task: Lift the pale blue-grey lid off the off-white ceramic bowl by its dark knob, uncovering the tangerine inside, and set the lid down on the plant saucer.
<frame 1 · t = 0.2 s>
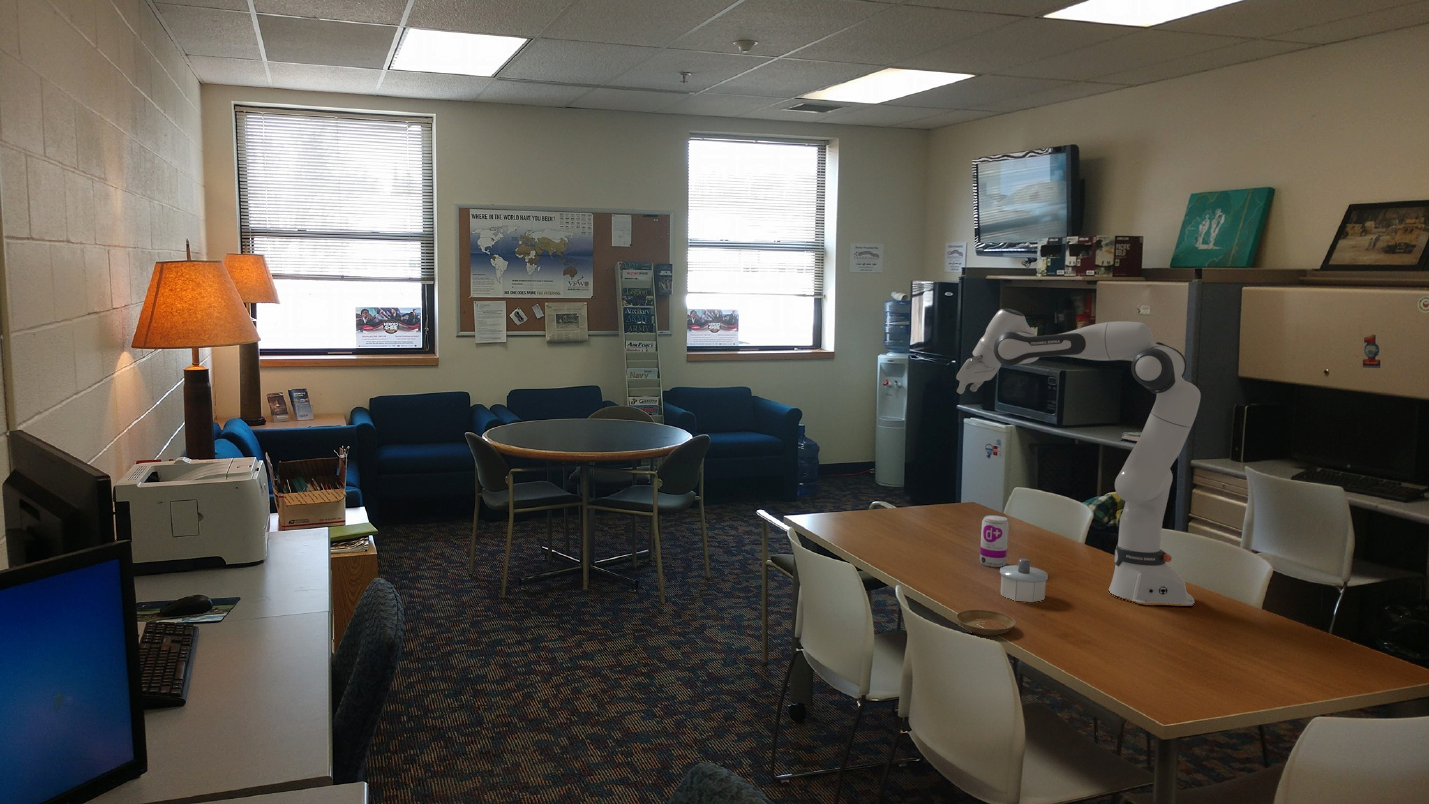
hand: (965, 391, 306), 54 cm above the table, tool tilted 30°, fingers open, 8 cm apart
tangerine: (1022, 586, 273), point 3 cm above the table, touching bowl
bowl: (1022, 595, 274), on the table
plant saucer: (984, 629, 247), on the table
lid: (1023, 575, 273), point 6 cm above the table, touching bowl
supplement can: (992, 564, 305), on the table
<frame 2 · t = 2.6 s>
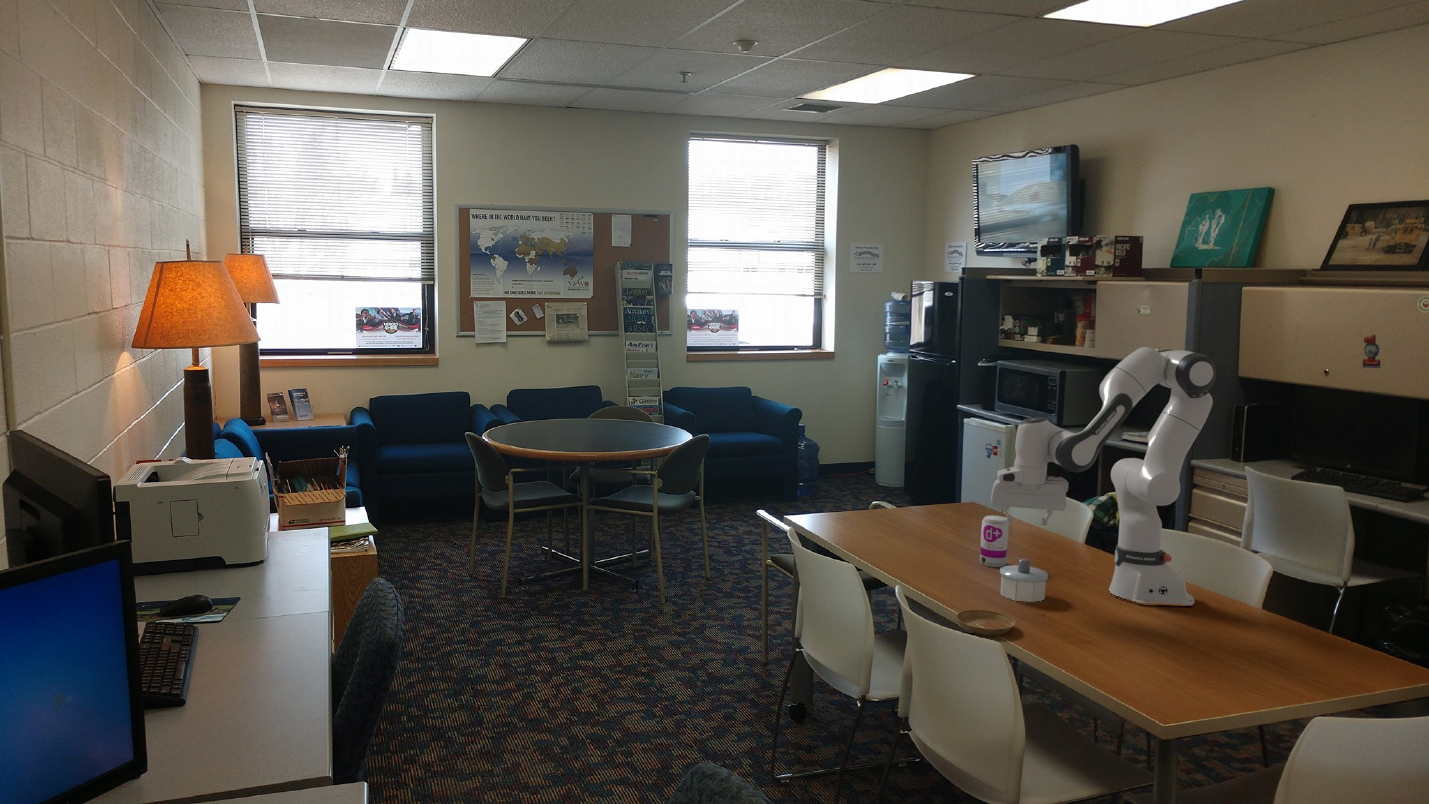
hand: (1026, 523, 271), 21 cm above the table, tool pointing down, fingers open, 8 cm apart
nothing on the table moved.
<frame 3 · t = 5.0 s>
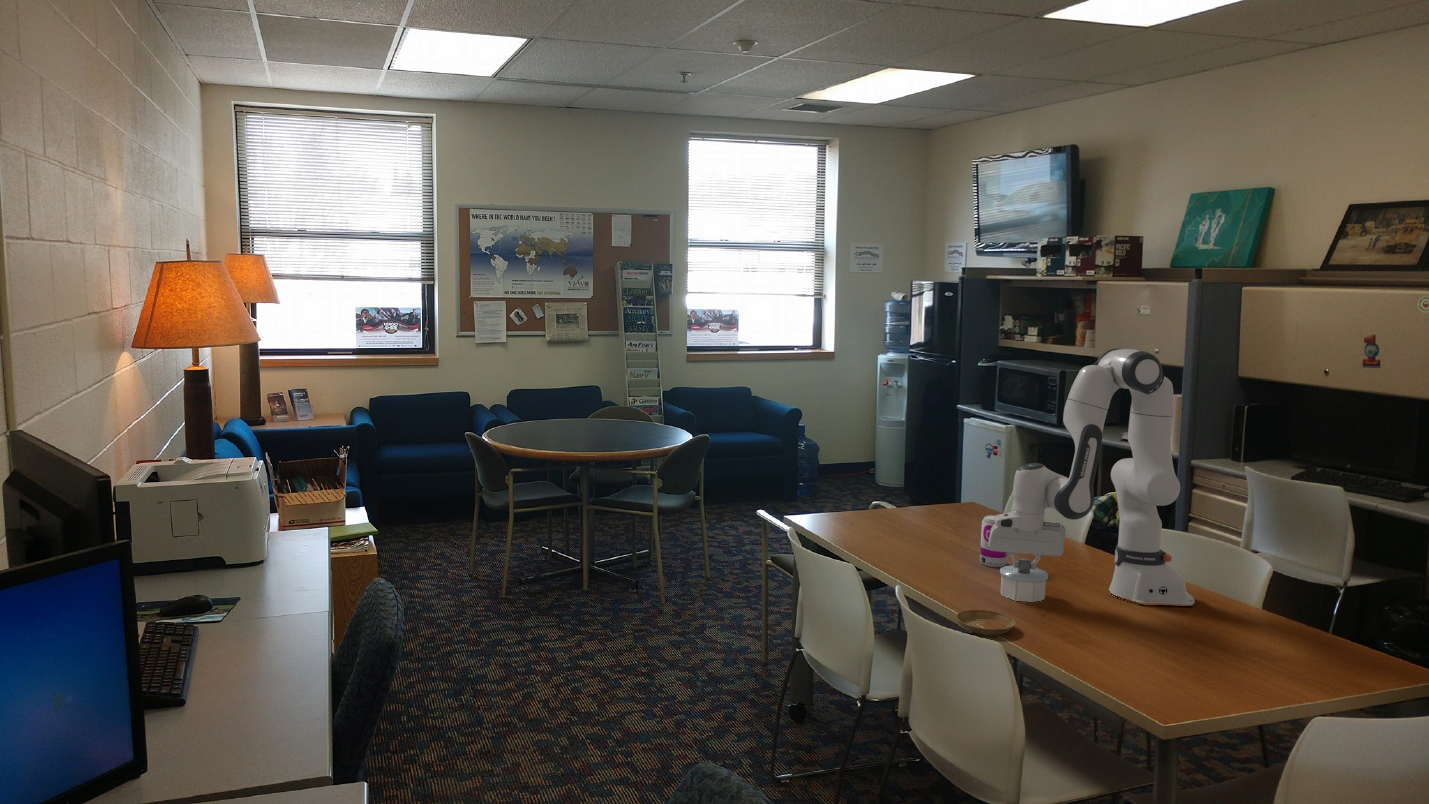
hand: (1024, 568, 273), 8 cm above the table, tool pointing down, fingers closed on lid, 3 cm apart
lid: (1023, 575, 273), point 6 cm above the table, touching bowl, gripper
everything else where it was.
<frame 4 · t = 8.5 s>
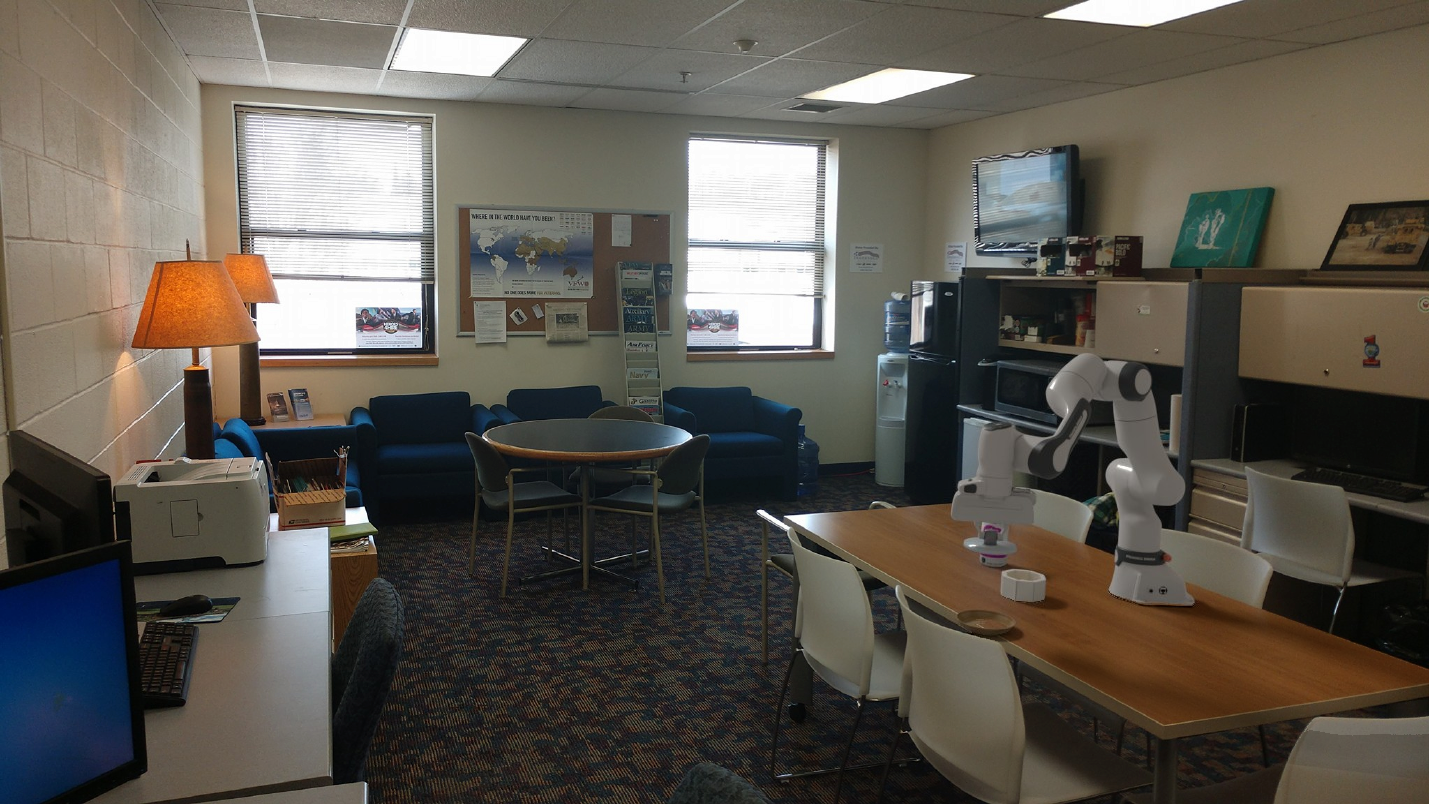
hand: (990, 539, 244), 23 cm above the table, tool pointing down, fingers closed on lid, 3 cm apart
lid: (989, 547, 245), point 21 cm above the table, touching gripper
everything else where it was.
when the fingers open (7 cm above the table, at t = 12.2 s): lid drops 3 cm, resting on plant saucer.
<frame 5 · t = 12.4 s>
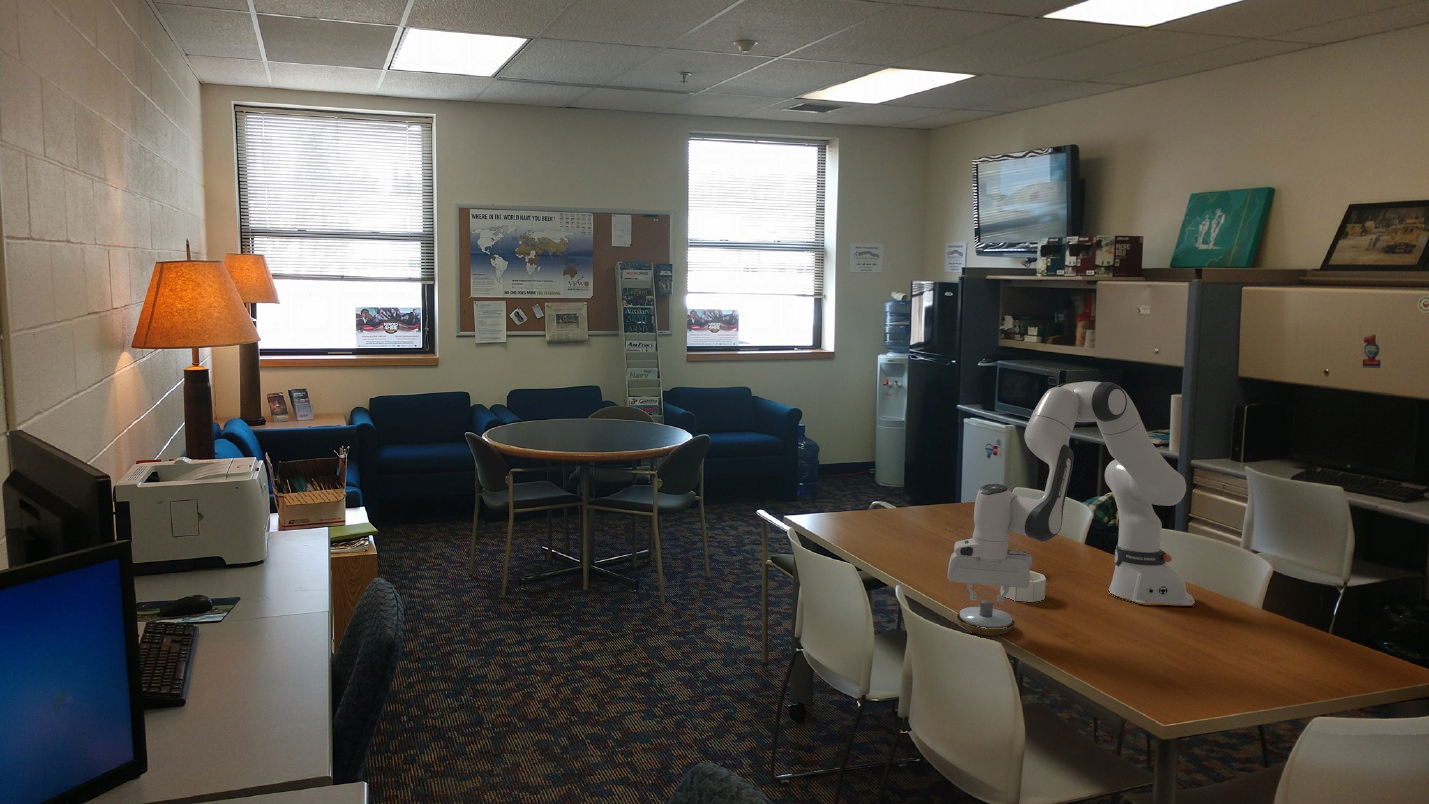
hand: (986, 600, 246), 7 cm above the table, tool pointing down, fingers open, 5 cm apart
plant saucer: (984, 629, 247), on the table, touching lid
lid: (985, 619, 247), point 2 cm above the table, touching plant saucer
everything else where it was.
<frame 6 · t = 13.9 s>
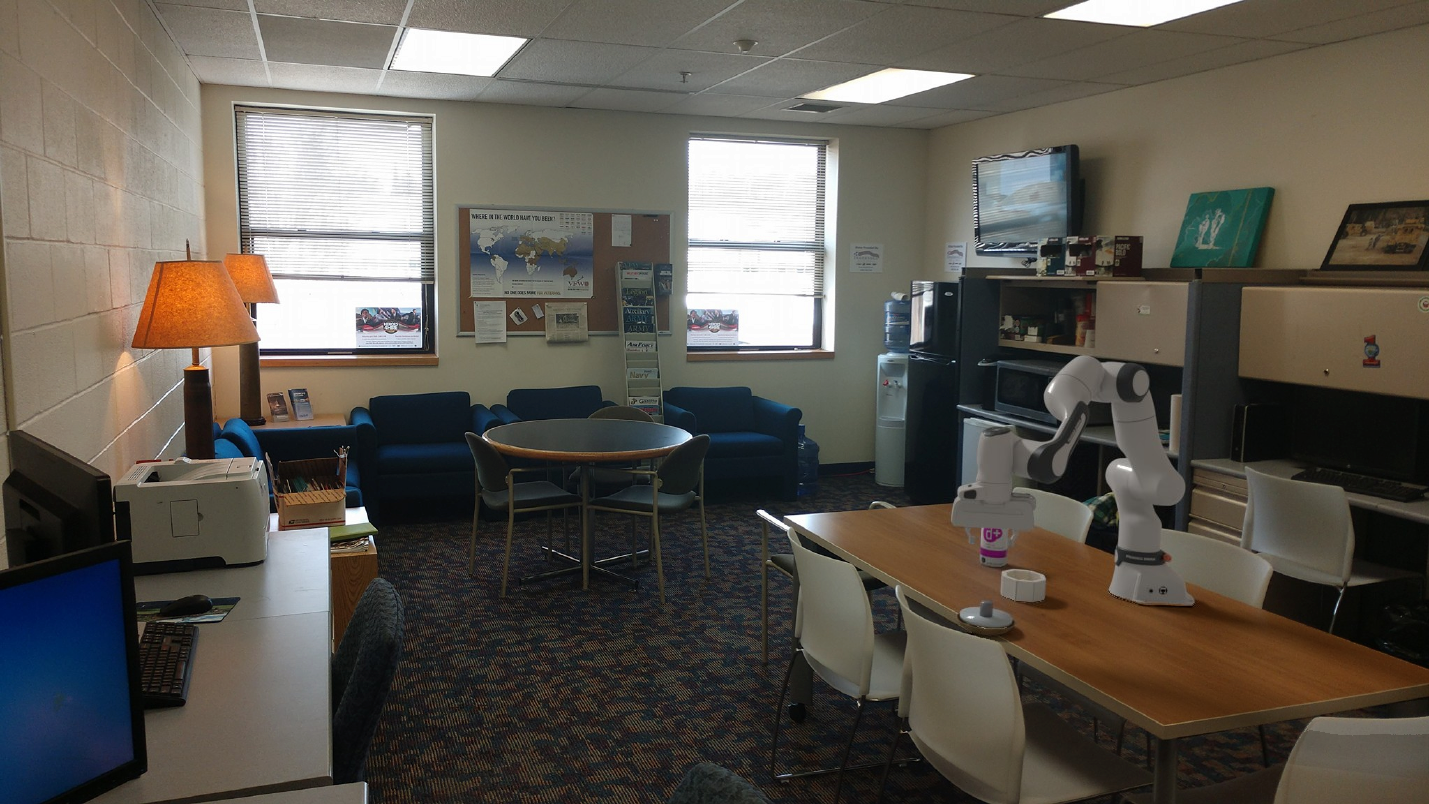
hand: (991, 544, 244), 22 cm above the table, tool pointing down, fingers open, 8 cm apart
nothing on the table moved.
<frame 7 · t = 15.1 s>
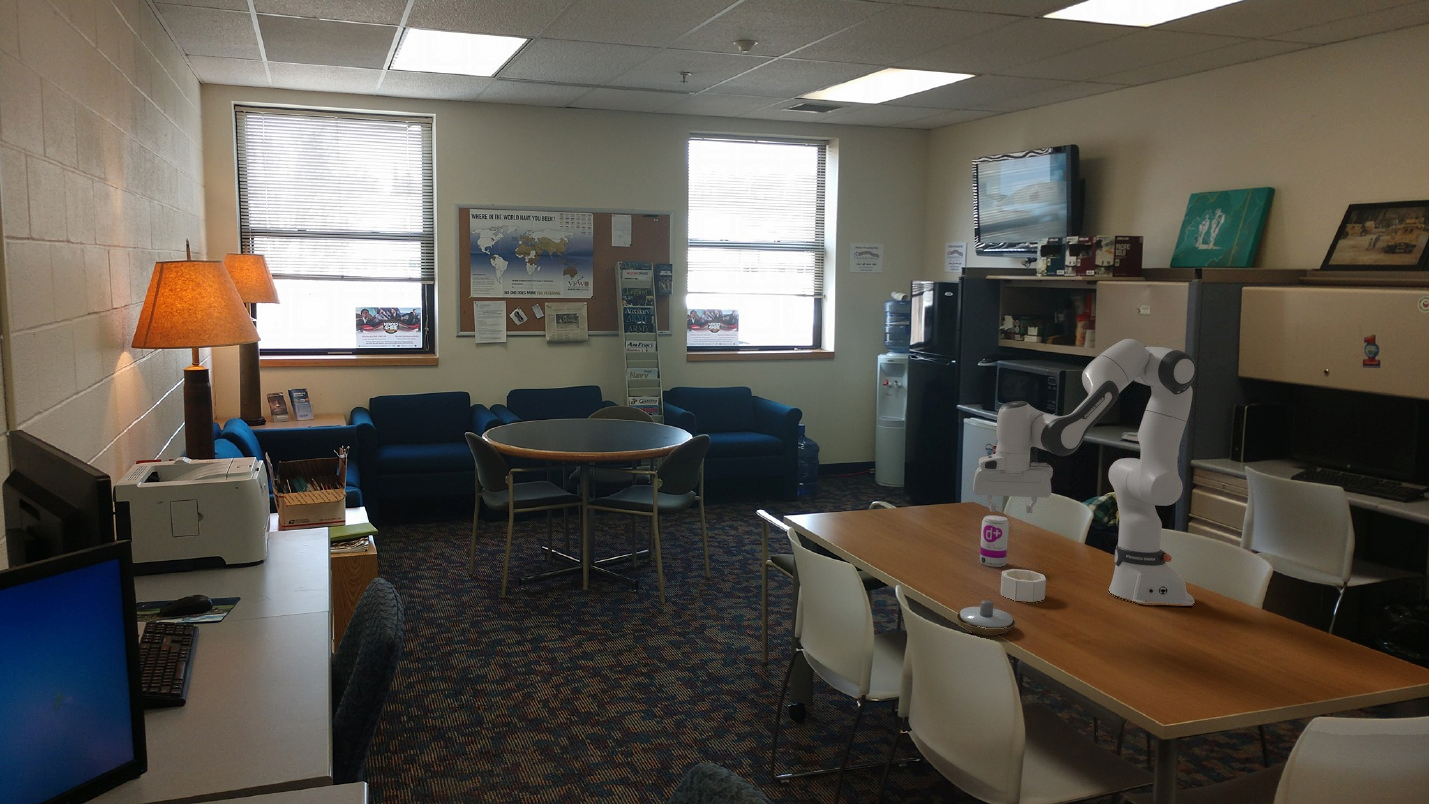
hand: (1010, 511, 261), 27 cm above the table, tool pointing down, fingers open, 8 cm apart
nothing on the table moved.
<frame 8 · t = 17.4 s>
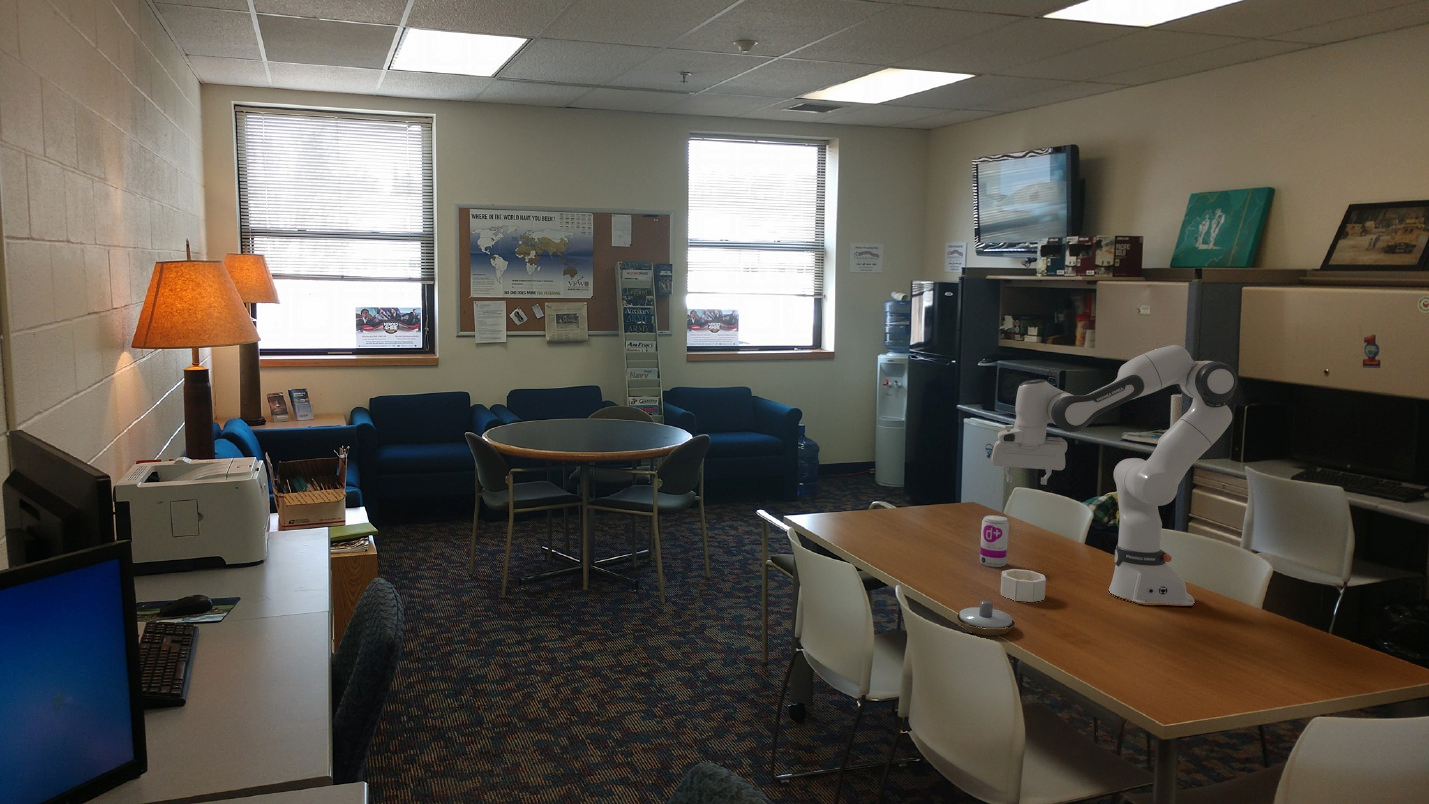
hand: (1026, 483, 278), 31 cm above the table, tool pointing down, fingers open, 8 cm apart
nothing on the table moved.
at the end: lid 0.1 cm from the plant saucer (horizontally); lid point 2.3 cm above the table; lid touching plant saucer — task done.
